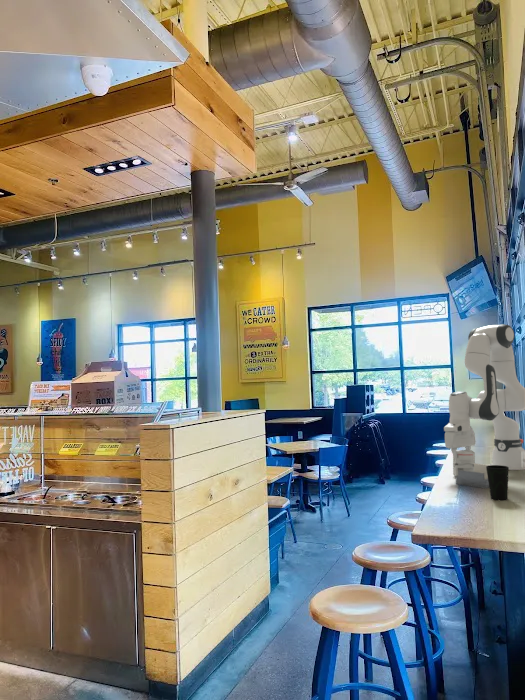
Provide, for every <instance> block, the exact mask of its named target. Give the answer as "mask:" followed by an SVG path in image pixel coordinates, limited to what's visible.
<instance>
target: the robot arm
mask: <svg viewBox="0 0 525 700" xmlns="http://www.w3.org/2000/svg"><path fill="white" fill-rule="evenodd" d="M467 339H468V342H467V345H466V349H465V356H464V366H465V368H466V369H467V371H468V372H470V373H472V374H473V375H476V376H479V377H481V378H482V380H483V390H481V391H480V392H479V393H478V394H477V396H476V398H474V397H471V396H470V395H468V393H467V392H466V391H464V390H463V391H462V390H461V391H455V392H452V393H450V395H449V397H448V410H449V411H448V412H449V422H448V423H447V424H446V425H445V426H444V427H443V432H445V433H444V444H445V448H446V449H450V450H451V453H452V459H453V458H458V454H457V451H456V450H458V449H460V448H465V450H472V447H473V446H475V445H476V435H475V432H474V429H473V427H472V426H471V419H472V420H483V421H489V422H490V421H491V422H492V425H493V430H494V439H493V445H494V448H493V449H492V451H491V452H492V453H491V454H492V455H491V456H492V457H491V463H489V465H501V466H507V467H509V471H510V470H511V471H516V470H517V471H519V470H520V471H521V470H522V471H523V470H525V449H524V448H523V447H522V446H523V443H524V439H522V438H520V428H519V427H520V426H519V424H518V422H517V421H516V420H515V419H513V418H511V417H508V416H506V415H505V413H504V412H522V411H525V386H523V384H521V383H520V381H519V380H518V376H517V372H516V364H515V362H516V361H515V355H514V354H515V353H514V349H513V346H512V344H513V342H514V340H515V331H514V329H513V327H512V326H510V325H509V324H503V323H501V324H492V325H486V326H482V327H475V328H473V329H472V330H470V332H469V334H468V338H467ZM497 382H498V383H500V384H503V385H504V386H505V388H501V389H499V388H497Z"/></svg>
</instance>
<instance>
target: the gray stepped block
mask: <svg viewBox="0 0 525 700" xmlns="http://www.w3.org/2000/svg"><path fill="white" fill-rule="evenodd" d="M455 484H456V485H458V486H465V487H474V488H480V489H490V488H489V482H488V478H487V479H485V478H484V473H479V472H474V471H473V472H471V471H463V470H458V476H456V477H455Z"/></svg>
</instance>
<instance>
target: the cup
mask: <svg viewBox="0 0 525 700" xmlns="http://www.w3.org/2000/svg"><path fill="white" fill-rule="evenodd" d="M488 465H489V466H486V469H487V475H488V482H489V488H488V489H489V495H490V499H491V500H492V499H493V501H498V500H500V501H501V502H503V501H507V500H508V498H509V497H508V493H509V492H508V491H509V471H510V470H509V467H507V466H501V465H490V464H488ZM500 501H499V502H500Z"/></svg>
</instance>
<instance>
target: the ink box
mask: <svg viewBox="0 0 525 700" xmlns="http://www.w3.org/2000/svg"><path fill="white" fill-rule="evenodd" d="M456 451H457V454H458V458H453V457H452V475H453V476H454V477H455V478H456V476H458V470H463V471H471V472H473V471H474V464H475V463H476V462H475V461H476V453H475V452H474V451H473V450H472V449H470V450H466V449H457V450H456Z"/></svg>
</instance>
